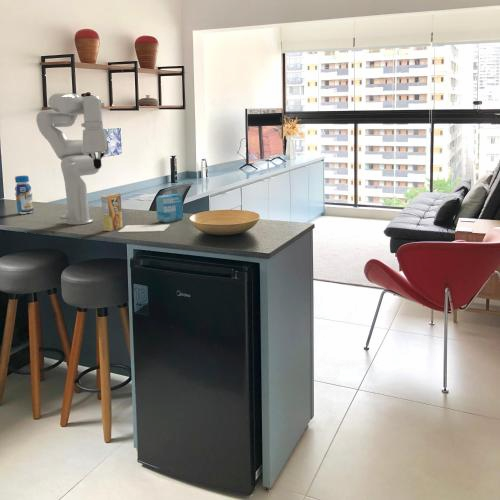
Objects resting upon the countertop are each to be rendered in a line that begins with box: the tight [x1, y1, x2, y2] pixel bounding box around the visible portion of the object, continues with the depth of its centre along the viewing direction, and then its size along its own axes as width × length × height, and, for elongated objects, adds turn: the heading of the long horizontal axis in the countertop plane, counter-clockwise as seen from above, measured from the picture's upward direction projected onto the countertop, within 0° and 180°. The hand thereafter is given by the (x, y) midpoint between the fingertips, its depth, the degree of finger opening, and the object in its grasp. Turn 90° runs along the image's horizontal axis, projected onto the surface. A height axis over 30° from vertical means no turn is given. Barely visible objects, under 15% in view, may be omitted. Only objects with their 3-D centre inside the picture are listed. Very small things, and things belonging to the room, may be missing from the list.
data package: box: [155, 193, 184, 223], centre depth 278 cm, size 12×4×12 cm, turn 135°
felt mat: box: [117, 223, 171, 233], centre depth 261 cm, size 20×15×1 cm
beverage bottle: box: [14, 175, 35, 213], centre depth 316 cm, size 8×8×20 cm
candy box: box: [100, 193, 124, 232], centre depth 261 cm, size 9×4×15 cm, turn 155°
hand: (98, 168), depth 259 cm, fingers closed
